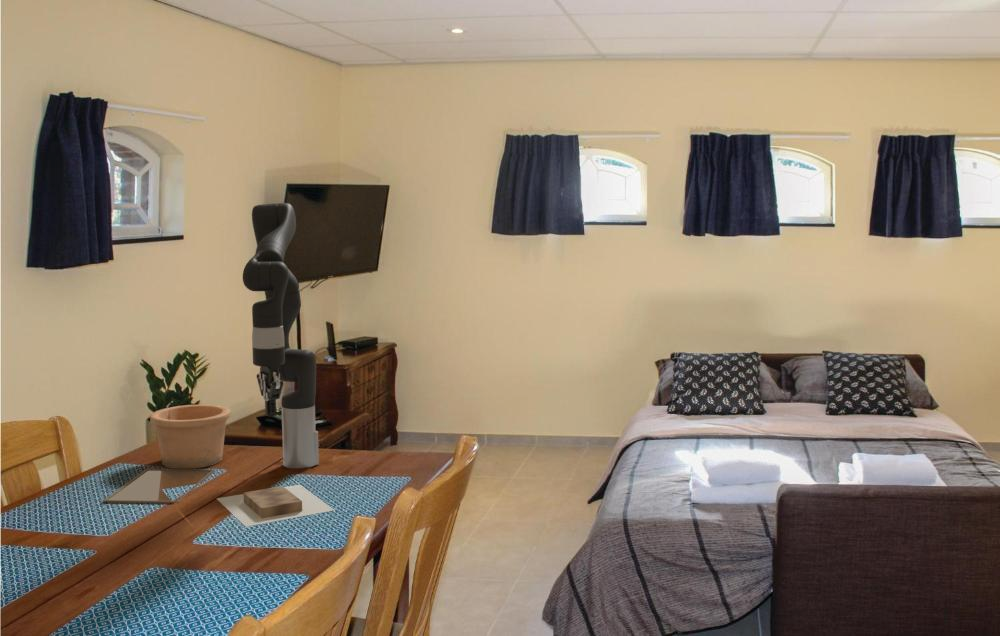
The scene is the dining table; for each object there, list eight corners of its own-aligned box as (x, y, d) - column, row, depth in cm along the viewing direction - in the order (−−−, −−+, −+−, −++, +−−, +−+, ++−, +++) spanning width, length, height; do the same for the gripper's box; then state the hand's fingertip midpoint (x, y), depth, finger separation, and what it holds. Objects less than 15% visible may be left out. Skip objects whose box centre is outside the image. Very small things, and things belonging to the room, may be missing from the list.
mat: (299, 486, 251) (299, 484, 251) (335, 511, 231) (334, 510, 231) (216, 500, 239) (216, 498, 239) (245, 528, 219) (245, 526, 219)
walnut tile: (282, 486, 242) (302, 501, 230) (282, 495, 242) (302, 511, 230) (243, 492, 236) (261, 508, 224) (243, 502, 237) (261, 518, 225)
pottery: (135, 467, 268) (133, 417, 266) (186, 448, 288) (184, 401, 286) (199, 475, 260) (197, 424, 258) (246, 455, 281) (245, 407, 279)
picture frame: (178, 505, 237) (214, 473, 264) (178, 501, 237) (214, 469, 264) (102, 504, 237) (146, 472, 265) (102, 500, 237) (146, 468, 265)
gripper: (293, 347, 224) (295, 418, 226) (274, 339, 235) (276, 408, 237) (262, 350, 220) (264, 423, 222) (244, 342, 231) (247, 411, 233)
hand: (270, 415), depth 230 cm, fingers closed
